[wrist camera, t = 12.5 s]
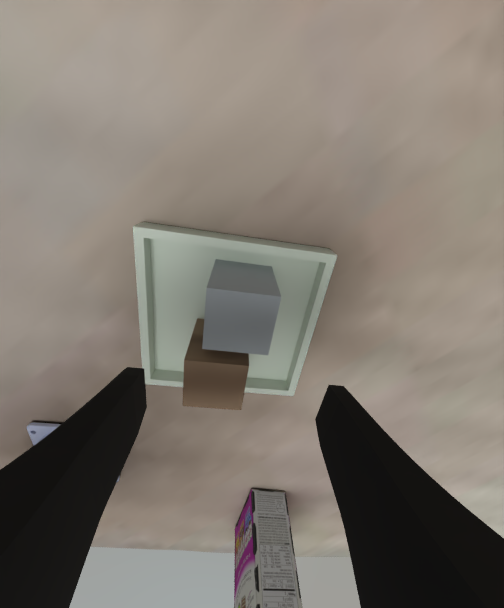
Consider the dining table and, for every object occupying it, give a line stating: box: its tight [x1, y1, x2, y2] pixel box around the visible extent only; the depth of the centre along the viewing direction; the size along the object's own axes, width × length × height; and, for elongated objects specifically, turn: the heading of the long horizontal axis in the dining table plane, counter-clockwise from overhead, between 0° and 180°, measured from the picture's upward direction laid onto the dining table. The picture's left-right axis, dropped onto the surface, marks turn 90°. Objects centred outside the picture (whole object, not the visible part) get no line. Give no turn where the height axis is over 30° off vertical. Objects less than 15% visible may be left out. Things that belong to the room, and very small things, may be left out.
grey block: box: [202, 259, 281, 355], centre depth 16 cm, size 4×4×5 cm
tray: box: [133, 222, 337, 396], centre depth 19 cm, size 13×13×2 cm
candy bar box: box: [234, 489, 302, 608], centre depth 27 cm, size 11×5×16 cm, turn 167°
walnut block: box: [183, 318, 249, 410], centre depth 18 cm, size 4×4×5 cm
